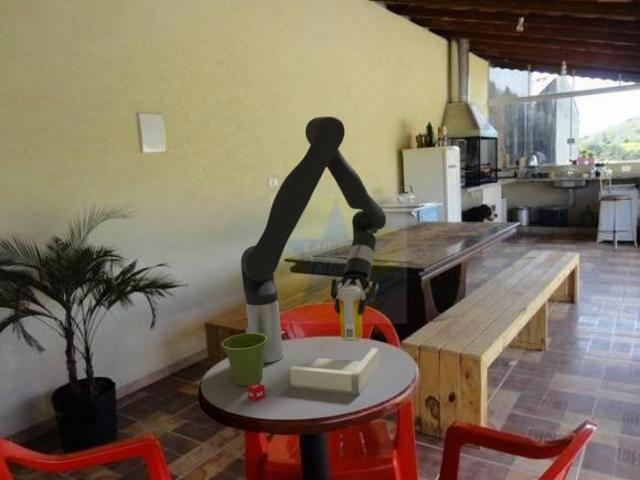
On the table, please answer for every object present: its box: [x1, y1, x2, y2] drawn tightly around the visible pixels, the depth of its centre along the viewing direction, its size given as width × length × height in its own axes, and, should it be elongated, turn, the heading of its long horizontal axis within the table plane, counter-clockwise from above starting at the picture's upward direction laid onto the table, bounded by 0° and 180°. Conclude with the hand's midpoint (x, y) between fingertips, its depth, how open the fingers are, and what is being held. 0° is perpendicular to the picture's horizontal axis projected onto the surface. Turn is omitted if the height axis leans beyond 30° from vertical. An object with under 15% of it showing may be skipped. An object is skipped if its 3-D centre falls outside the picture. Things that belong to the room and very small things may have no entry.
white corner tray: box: [289, 347, 381, 396], centre depth 131 cm, size 18×18×5 cm
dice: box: [246, 382, 266, 402], centre depth 122 cm, size 3×3×3 cm
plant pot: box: [221, 332, 267, 387], centre depth 132 cm, size 12×12×11 cm
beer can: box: [338, 285, 363, 342], centre depth 142 cm, size 6×6×15 cm
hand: (348, 313), depth 141 cm, fingers closed on beer can, 6 cm apart
